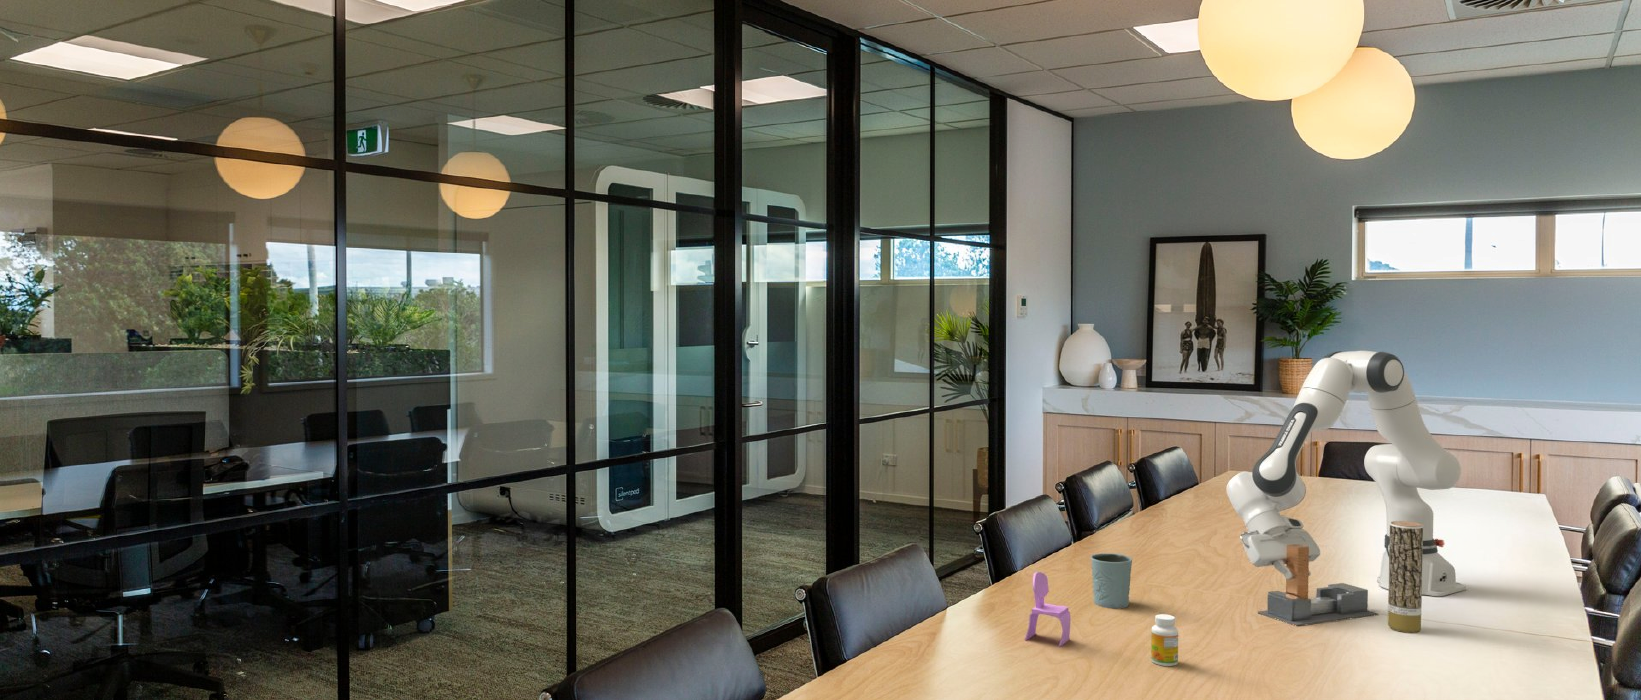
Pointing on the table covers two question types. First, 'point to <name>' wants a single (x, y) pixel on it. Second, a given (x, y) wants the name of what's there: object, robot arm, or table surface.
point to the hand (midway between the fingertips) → (1299, 577)
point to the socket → (1288, 606)
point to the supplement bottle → (1164, 641)
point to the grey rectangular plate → (1323, 617)
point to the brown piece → (1304, 579)
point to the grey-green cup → (1111, 579)
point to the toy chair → (1047, 609)
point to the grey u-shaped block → (1346, 597)
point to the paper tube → (1405, 576)
